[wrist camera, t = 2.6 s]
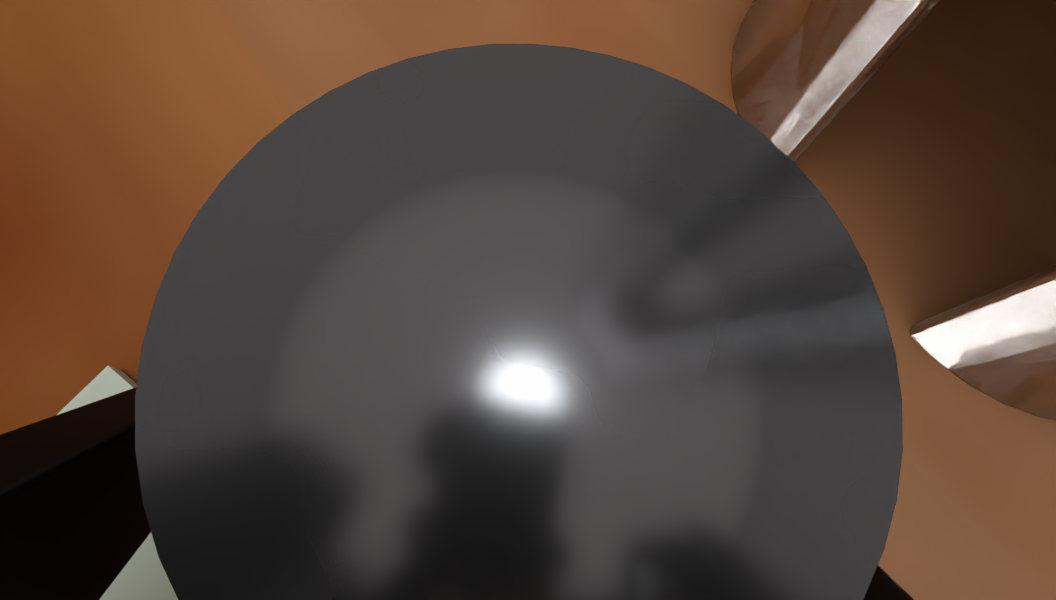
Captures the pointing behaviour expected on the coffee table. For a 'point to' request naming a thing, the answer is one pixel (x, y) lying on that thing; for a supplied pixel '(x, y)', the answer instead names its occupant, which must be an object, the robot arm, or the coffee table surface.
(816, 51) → the grey metal tall arch
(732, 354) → the standoff
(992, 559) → the coffee table surface
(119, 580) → the pad
